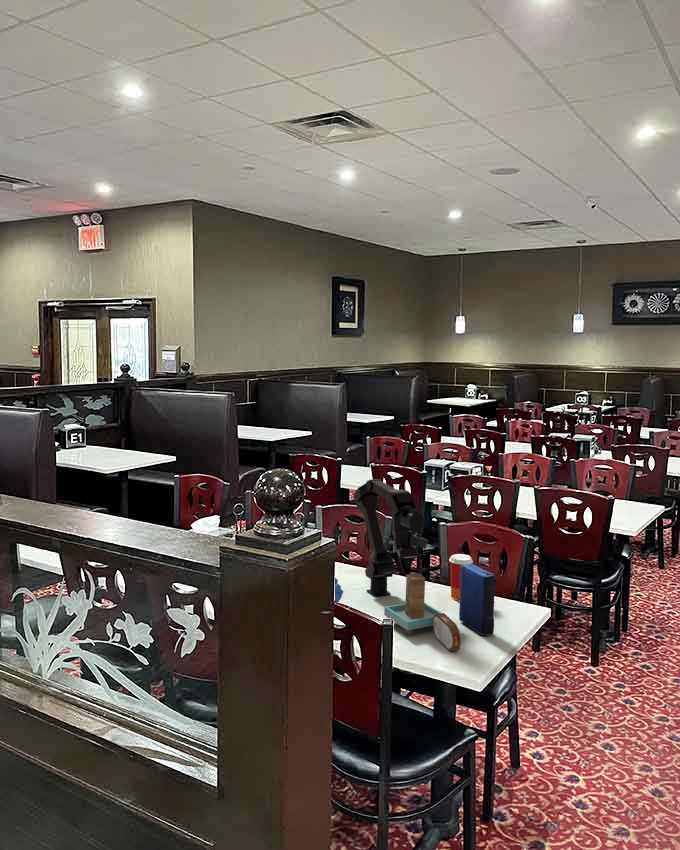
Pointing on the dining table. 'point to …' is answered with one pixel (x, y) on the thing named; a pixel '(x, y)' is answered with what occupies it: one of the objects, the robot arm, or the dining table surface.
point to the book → (477, 598)
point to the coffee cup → (457, 572)
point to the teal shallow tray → (407, 623)
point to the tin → (447, 632)
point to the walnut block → (415, 596)
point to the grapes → (338, 591)
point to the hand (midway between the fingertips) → (404, 574)
